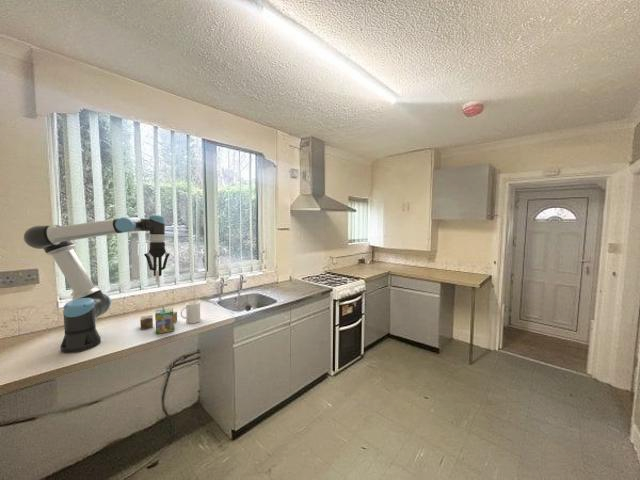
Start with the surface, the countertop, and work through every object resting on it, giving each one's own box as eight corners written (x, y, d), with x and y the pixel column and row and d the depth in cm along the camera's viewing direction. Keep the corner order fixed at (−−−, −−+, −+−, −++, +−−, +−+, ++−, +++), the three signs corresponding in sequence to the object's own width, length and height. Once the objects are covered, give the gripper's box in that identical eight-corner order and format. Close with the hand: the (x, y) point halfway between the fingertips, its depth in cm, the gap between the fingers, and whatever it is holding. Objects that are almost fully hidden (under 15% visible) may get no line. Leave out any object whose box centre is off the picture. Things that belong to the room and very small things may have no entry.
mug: (182, 326, 160) (182, 306, 159) (178, 322, 166) (178, 303, 165) (202, 321, 168) (202, 302, 167) (198, 317, 174) (197, 300, 173)
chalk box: (174, 331, 152) (173, 306, 151) (155, 334, 148) (154, 308, 147) (173, 325, 160) (173, 302, 159) (156, 328, 155) (155, 304, 155)
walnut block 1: (140, 329, 154) (140, 319, 153) (141, 326, 159) (140, 316, 159) (152, 327, 157) (152, 317, 157) (152, 324, 162) (152, 314, 162)
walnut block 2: (162, 324, 162) (162, 314, 162) (167, 321, 168) (167, 311, 168) (173, 324, 163) (172, 314, 162) (177, 320, 169) (176, 311, 168)
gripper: (142, 242, 146) (142, 283, 147) (168, 242, 150) (169, 282, 152) (146, 241, 153) (146, 280, 154) (171, 241, 157) (171, 279, 159)
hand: (157, 281), depth 153 cm, fingers closed
